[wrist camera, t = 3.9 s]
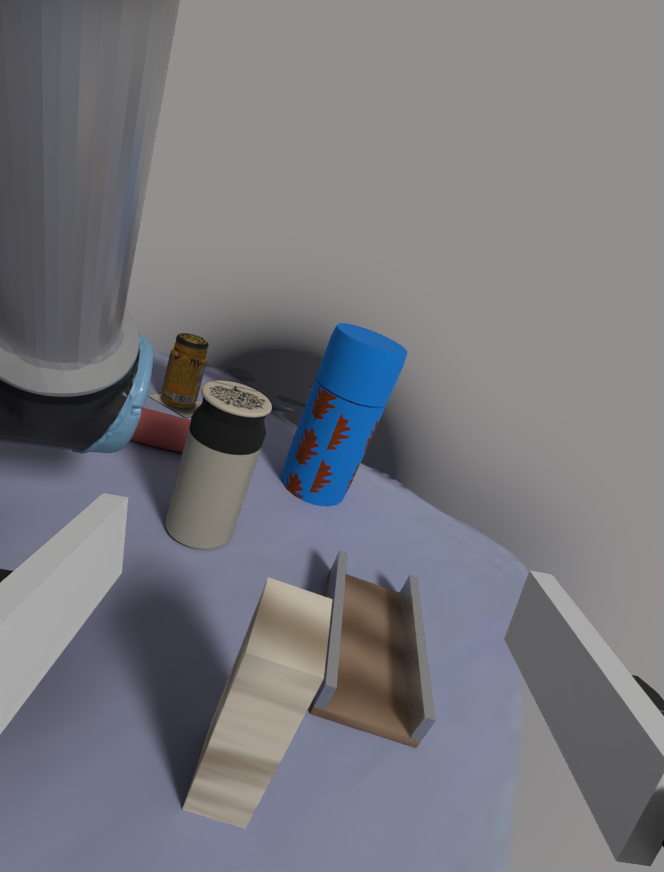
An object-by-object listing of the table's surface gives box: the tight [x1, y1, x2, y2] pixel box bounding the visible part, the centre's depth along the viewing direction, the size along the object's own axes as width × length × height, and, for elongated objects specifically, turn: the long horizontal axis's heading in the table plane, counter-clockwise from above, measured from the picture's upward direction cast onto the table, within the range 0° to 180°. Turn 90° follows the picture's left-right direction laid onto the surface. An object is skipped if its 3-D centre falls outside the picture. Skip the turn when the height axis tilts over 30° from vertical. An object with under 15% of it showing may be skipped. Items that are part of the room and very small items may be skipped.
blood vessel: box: [130, 408, 191, 453], centre depth 65 cm, size 42×5×5 cm, turn 97°
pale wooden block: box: [182, 578, 332, 828], centre depth 31 cm, size 6×4×16 cm
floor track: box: [310, 550, 436, 748], centre depth 49 cm, size 18×10×4 cm, turn 175°
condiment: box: [149, 333, 208, 417], centre depth 81 cm, size 7×8×12 cm
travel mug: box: [165, 381, 272, 549], centre depth 53 cm, size 8×8×18 cm
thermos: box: [282, 323, 407, 506], centre depth 69 cm, size 11×11×25 cm
